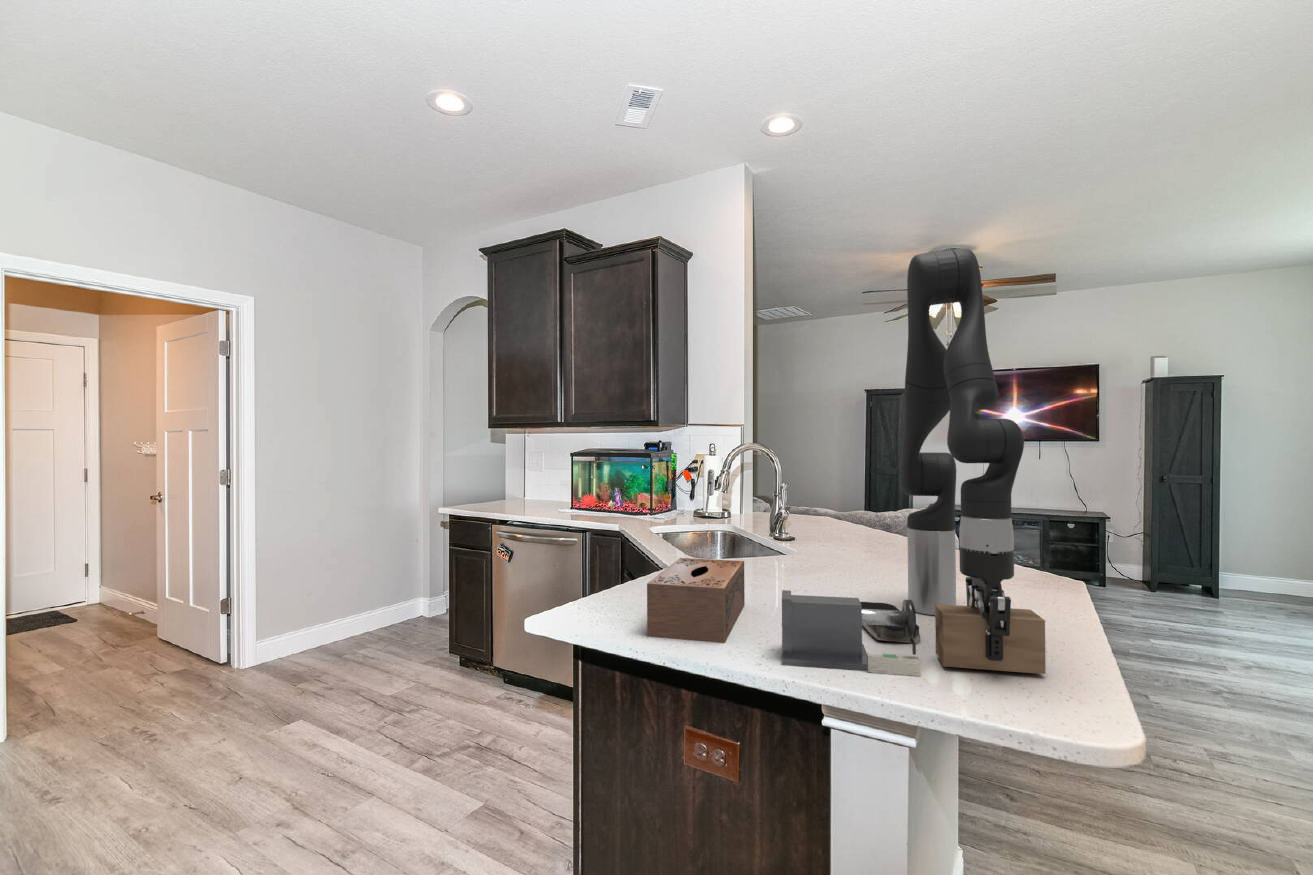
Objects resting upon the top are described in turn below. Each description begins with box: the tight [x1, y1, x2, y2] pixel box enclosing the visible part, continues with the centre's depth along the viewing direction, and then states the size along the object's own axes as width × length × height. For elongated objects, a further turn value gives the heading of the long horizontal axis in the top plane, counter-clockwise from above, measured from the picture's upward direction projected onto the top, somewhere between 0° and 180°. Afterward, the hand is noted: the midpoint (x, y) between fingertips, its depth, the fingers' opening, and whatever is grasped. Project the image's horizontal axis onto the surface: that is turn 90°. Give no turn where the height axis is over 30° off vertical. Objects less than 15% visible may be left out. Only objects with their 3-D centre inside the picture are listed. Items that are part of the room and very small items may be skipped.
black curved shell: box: [860, 601, 921, 644], centre depth 113 cm, size 16×8×4 cm, turn 177°
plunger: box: [862, 599, 917, 656], centre depth 97 cm, size 8×13×7 cm, turn 77°
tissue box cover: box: [646, 557, 746, 644], centre depth 121 cm, size 26×14×10 cm, turn 164°
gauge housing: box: [781, 589, 921, 677], centre depth 98 cm, size 11×20×10 cm, turn 77°
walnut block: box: [934, 604, 1047, 675], centre depth 94 cm, size 6×14×8 cm, turn 76°
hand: (987, 651), depth 94 cm, fingers closed on walnut block, 6 cm apart
